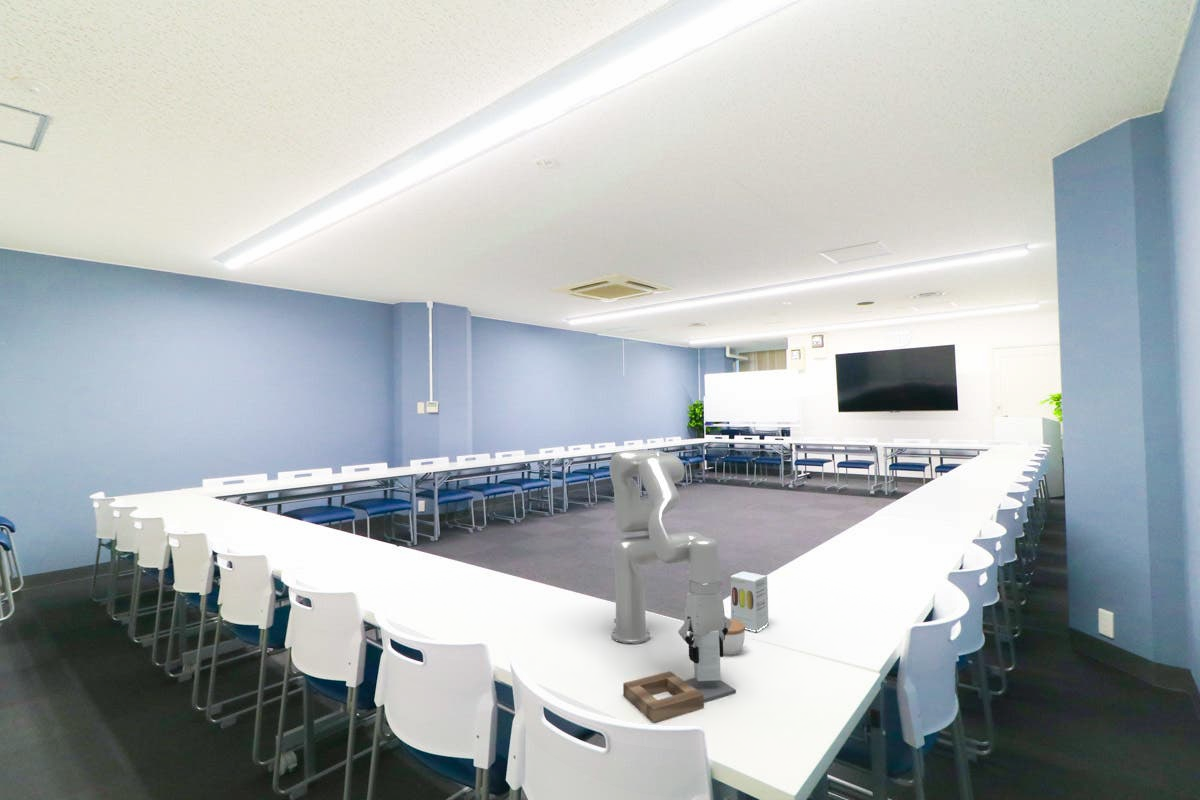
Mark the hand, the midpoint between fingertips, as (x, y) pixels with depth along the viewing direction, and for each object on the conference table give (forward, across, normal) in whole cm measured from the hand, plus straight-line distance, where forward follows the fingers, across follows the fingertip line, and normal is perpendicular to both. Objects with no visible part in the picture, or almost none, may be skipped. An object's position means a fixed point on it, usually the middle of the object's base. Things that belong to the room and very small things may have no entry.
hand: (706, 657), depth 131 cm
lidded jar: (+8, -20, -16) cm, 27 cm away
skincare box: (+5, 0, 0) cm, 5 cm away
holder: (+8, +14, 0) cm, 16 cm away
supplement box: (+8, -40, -28) cm, 49 cm away
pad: (+8, 0, 0) cm, 8 cm away
